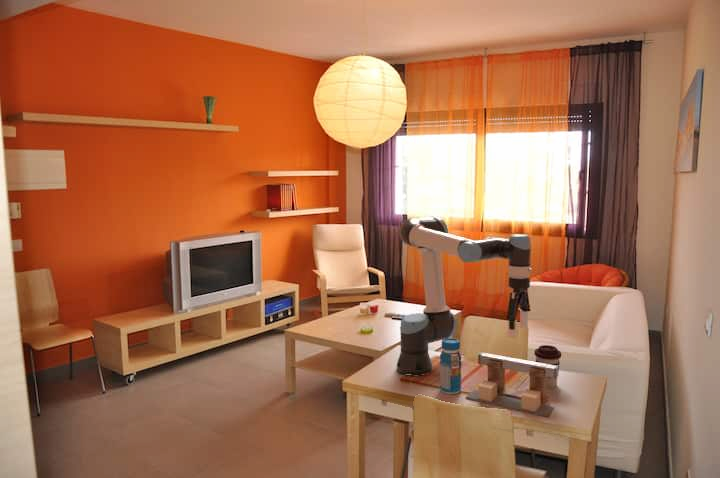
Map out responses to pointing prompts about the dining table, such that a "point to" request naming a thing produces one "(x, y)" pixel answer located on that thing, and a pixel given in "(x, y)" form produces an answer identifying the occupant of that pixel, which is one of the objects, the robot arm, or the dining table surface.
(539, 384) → the pair of wooden supports
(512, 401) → the twin block support stand
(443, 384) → the beverage bottle
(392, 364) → the dining table surface
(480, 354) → the rail
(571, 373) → the dining table surface
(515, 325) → the robot arm
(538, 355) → the coffee cup
